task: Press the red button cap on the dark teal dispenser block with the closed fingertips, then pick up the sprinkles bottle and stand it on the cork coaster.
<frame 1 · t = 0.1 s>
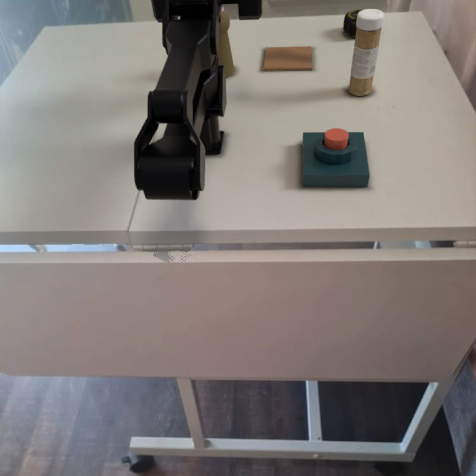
dispenser: (333, 164, 78), on the table
coaster: (287, 59, 102), on the table
sprinkles bottle: (359, 92, 92), on the table
tape measure: (360, 34, 108), on the table
red button cap: (336, 139, 74), point 4 cm above the table, slide at 0.1 cm
pepper shaker: (220, 72, 100), on the table
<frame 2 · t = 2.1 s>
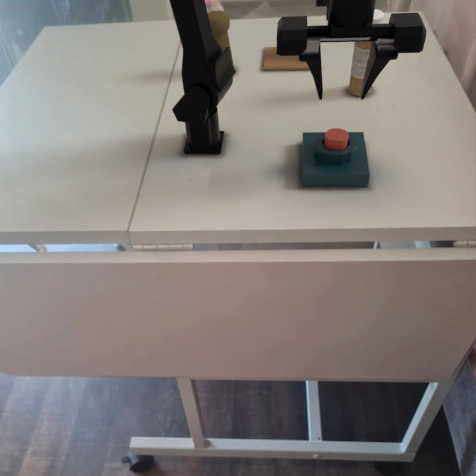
hand: (341, 98, 69), 11 cm above the table, tool pointing down, fingers open, 6 cm apart
nothing on the table moved.
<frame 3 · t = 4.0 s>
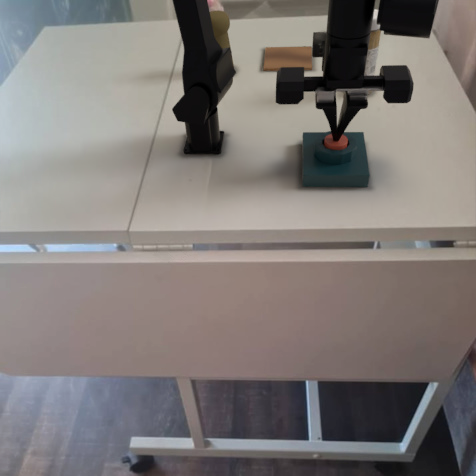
hand: (335, 139, 74), 4 cm above the table, tool pointing down, fingers closed, pressing on red button cap
red button cap: (335, 144, 75), point 4 cm above the table, slide at -0.8 cm, touching gripper
everything else where it was.
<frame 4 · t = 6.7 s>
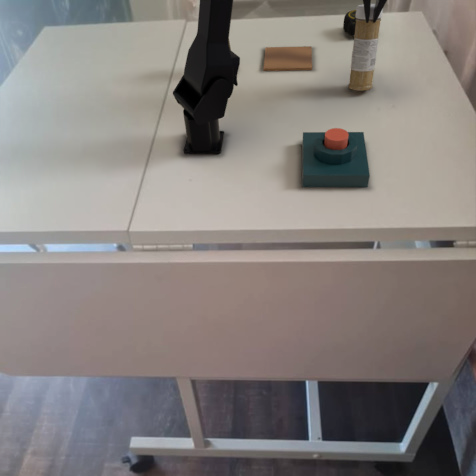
hand: (370, 22, 82), 12 cm above the table, tool pointing down, fingers closed
red button cap: (336, 139, 74), point 4 cm above the table, slide at 0.1 cm
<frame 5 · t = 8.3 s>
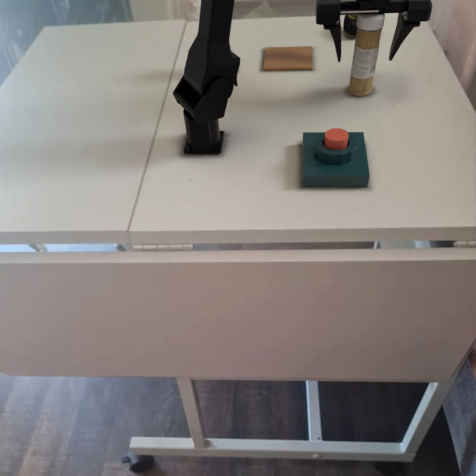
hand: (364, 60, 88), 6 cm above the table, tool pointing down
sprinkles bottle: (359, 92, 92), on the table, touching gripper
everything else where it was.
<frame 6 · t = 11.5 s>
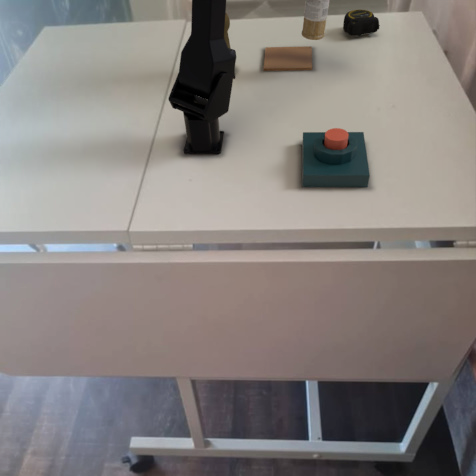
sprinkles bottle: (312, 37, 93), point 6 cm above the table, touching gripper
everything else where it was.
when the fingers open (7 cm above the table, at t = 13.9 s): sprinkles bottle stays where it is, resting on coaster.
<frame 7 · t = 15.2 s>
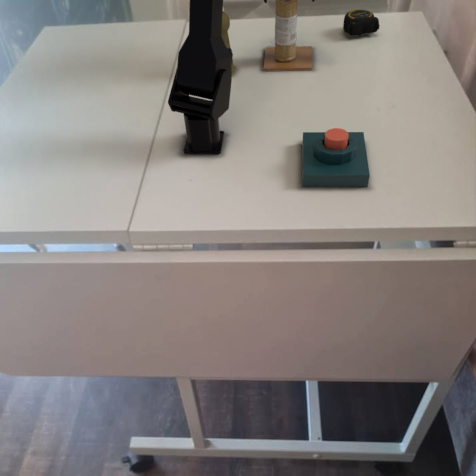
hand: (289, 1, 93), 11 cm above the table, tool pointing down, fingers open, 9 cm apart
sprinkles bottle: (284, 58, 101), resting on coaster
everything else where it was.
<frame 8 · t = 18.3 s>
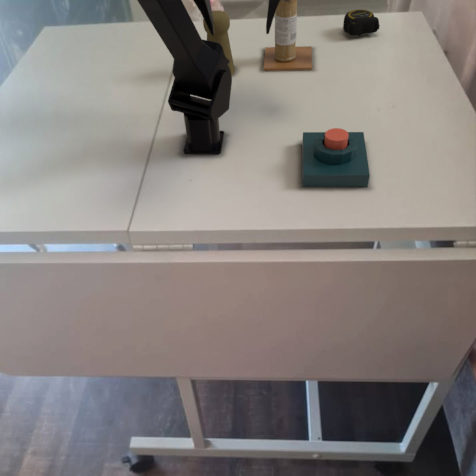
hand: (240, 33, 80), 13 cm above the table, tool pointing down, fingers open, 9 cm apart
nothing on the table moved.
at the end: red button cap pushed in 1.1 cm at the most during the clip, back to where it started at the end; sprinkles bottle inside the target area on the coaster (0.8 cm from its centre), point 0.3 cm above the coaster's base; sprinkles bottle tilted 0° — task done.
